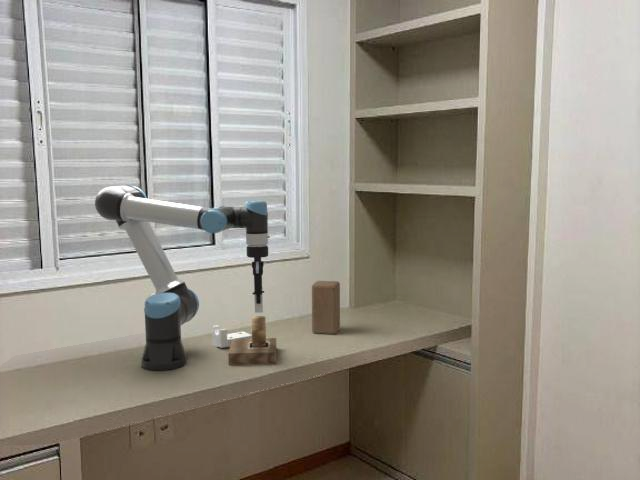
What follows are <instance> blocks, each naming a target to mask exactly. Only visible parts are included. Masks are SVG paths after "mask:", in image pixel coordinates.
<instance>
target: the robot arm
mask: <svg viewBox="0 0 640 480" xmlns="http://www.w3.org/2000/svg"><path fill="white" fill-rule="evenodd" d="M94 207H95V210H96V211H97V213H98V215H100V217H102V218H103V219H106V220H108V221H115V222H116V224H117V226H118V228H119V229H121V230H124V231H125V232H126V235H128V238H129V239H130V242H131V243H132V245H133V248H134V249H135V251H136V254H137V255H138V257H139V259H140V261H141V263H142V266H143V267H144V269H145V270H146V273H147V275H148V277H149V279H150V281H151V283H152V284H153V285H152V286H153V287H154V289H155V293H154V294H153V295H150V296H148V297H147V298H146V300H145V301H144V308H143V310H144V311H143V312H144V313H143V314H144V325H145V326H144V327H145V329H144V330H145V346H144V349H143V353H142V356H141V359H140V360H141V362H140V363H141V367H142V368H143V369H145V370H149V371H168V370H174V369H178V368H181V367H184V366H185V365H186V364H187V363H188V354H187V353H186V350H185V347H184V345H183V341H182V329H181V328H182V326H183V325H184V324H185V323H188V322H191V320H192V319H193V318H194V317H195V316H196V315H197V313H198V311H199V308H200V300H199V297H198V295H197V294H196V293H195V292H194V290H192V289H190V288H188V286H187V284H186V282H185V281H184V280H181V279H179V278H178V276H177V274H176V272H175V270H174V269H173V265H172V264H171V261H170V260H169V258H168V256H167V254H166V253H165V251H164V248H163V247H162V245H161V243H160V241H159V239H158V237H157V235H156V233H155V231H154V229H153V227H152V225H151V223H155V224H162V225H168V226H176V227H182V228H189V229H195V230H202V231H205V232H206V233H208V234H209V233H210V234H218V233H221V232H222V231H226V230H229V229H245V244H246V245H247V246H246V257H248V258H253V261H252V262H251V268H252V275H253V286H254V287H253V288H254V291H253V292H252V295H254V313H255V314H256V313H259V314H260V313H264V310H263V309H264V306H263V302H264V301H263V297H264V296H263V294H264V293H265V290H263V274H264V260H263V261H262V258H267V257H268V256H269V245H268V244H269V239H270V235H268V234H269V231H268V230H269V229H268V228H269V227H268V226H269V223H268V222H269V221H268V219H269V216H268V215H269V213H268V203H267V202H266V201H265V200H247V201H246V202H245V205H244V206H226V205H225V206H224V205H221V206H215V207H212V208H211V207H204V206H198V205H191V204H184V203H180V202H179V203H177V202H170V201H164V200H156V199H150V198H147V194H145V191H143V190H142V189H141V188H140V187H138V186H135V185H129V184H123V185H116V186H107V187H104V188H103V189H101V190H100V191H99V192H98V193H97V194H96V196H95V200H94Z"/></svg>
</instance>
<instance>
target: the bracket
mask: <svg viewBox="0 0 640 480" xmlns="http://www.w3.org/2000/svg"><path fill="white" fill-rule="evenodd" d="M211 327H212V329H211V330H212V346H213V347H216V348H221V349H222V348H226V347H228V348H229V347H230V346H231V343H232V339H250V338H252V334H250V333H248V332H246V331H239V332H238V331H237V332H232V333H228V329H227V328H222V329H221V326H220V325H218V324H217V325H213V326H211Z"/></svg>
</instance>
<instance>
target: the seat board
mask: <svg viewBox="0 0 640 480" xmlns="http://www.w3.org/2000/svg"><path fill="white" fill-rule="evenodd" d="M252 344H253V343H252V338H250V339H232V343H231V346H229V350H228V353H227V354H228V358H227V359H228V365H229V366H236V365H237V366H238V365H239V366H240V365H242V366H244V365H245V366H246V365H273V364H274V365H276V364H277V337H266V343H265V344H266V347H262V348H253V347H252Z"/></svg>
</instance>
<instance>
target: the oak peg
mask: <svg viewBox="0 0 640 480" xmlns="http://www.w3.org/2000/svg"><path fill="white" fill-rule="evenodd" d="M266 325H267V324H266V316H264V315H256V316H255V315H254V316H252V317H251V335H252V343H253V344H252V347H253V348H262V347H266V344H265V343H266V338H267V332H266V329H267V327H266Z"/></svg>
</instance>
